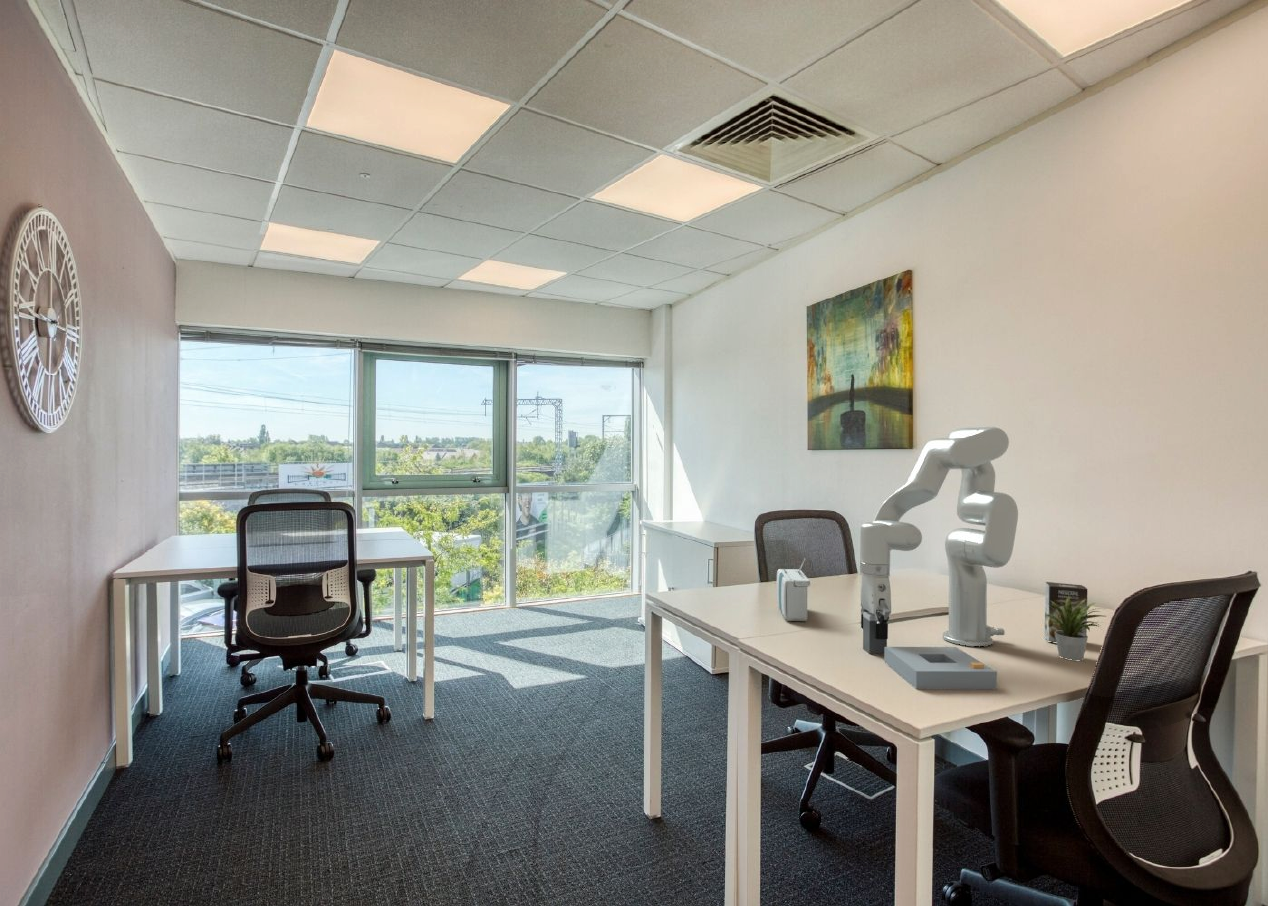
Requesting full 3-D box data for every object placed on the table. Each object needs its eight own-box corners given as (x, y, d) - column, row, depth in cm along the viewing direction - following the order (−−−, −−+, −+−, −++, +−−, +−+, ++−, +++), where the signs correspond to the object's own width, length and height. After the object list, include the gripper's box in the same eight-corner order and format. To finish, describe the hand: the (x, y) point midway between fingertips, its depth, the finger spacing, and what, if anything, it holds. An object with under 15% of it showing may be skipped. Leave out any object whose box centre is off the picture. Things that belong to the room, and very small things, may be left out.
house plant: (1080, 671, 154) (1080, 604, 154) (1025, 654, 167) (1025, 592, 167) (1116, 664, 160) (1116, 599, 160) (1060, 648, 173) (1061, 588, 173)
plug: (880, 649, 172) (880, 611, 172) (886, 654, 167) (887, 616, 167) (863, 648, 172) (863, 611, 172) (869, 654, 167) (869, 616, 167)
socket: (955, 662, 160) (955, 643, 160) (996, 689, 142) (996, 668, 142) (884, 662, 160) (884, 643, 160) (916, 689, 142) (916, 667, 142)
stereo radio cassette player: (776, 606, 219) (776, 548, 219) (800, 607, 218) (800, 548, 218) (783, 622, 198) (783, 558, 198) (810, 623, 197) (810, 559, 197)
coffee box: (1047, 643, 177) (1048, 585, 177) (1044, 637, 183) (1044, 581, 183) (1087, 647, 174) (1087, 588, 174) (1082, 641, 179) (1082, 584, 179)
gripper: (902, 575, 161) (901, 643, 161) (876, 564, 178) (875, 625, 178) (873, 575, 161) (872, 643, 161) (849, 563, 178) (848, 624, 178)
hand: (873, 633), depth 169 cm, fingers open, 9 cm apart
